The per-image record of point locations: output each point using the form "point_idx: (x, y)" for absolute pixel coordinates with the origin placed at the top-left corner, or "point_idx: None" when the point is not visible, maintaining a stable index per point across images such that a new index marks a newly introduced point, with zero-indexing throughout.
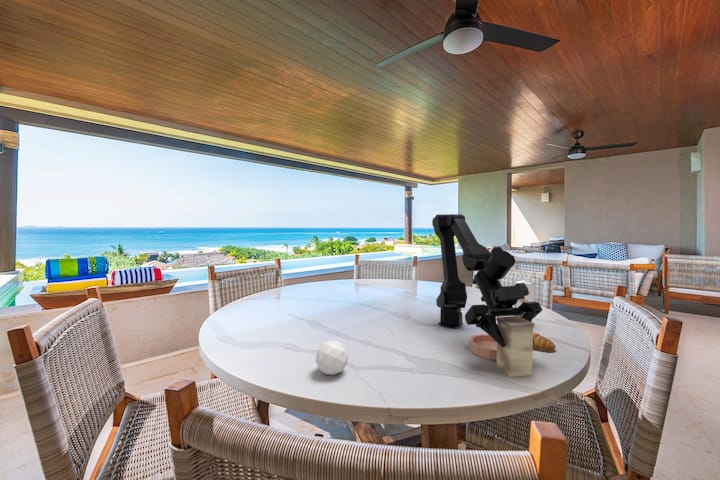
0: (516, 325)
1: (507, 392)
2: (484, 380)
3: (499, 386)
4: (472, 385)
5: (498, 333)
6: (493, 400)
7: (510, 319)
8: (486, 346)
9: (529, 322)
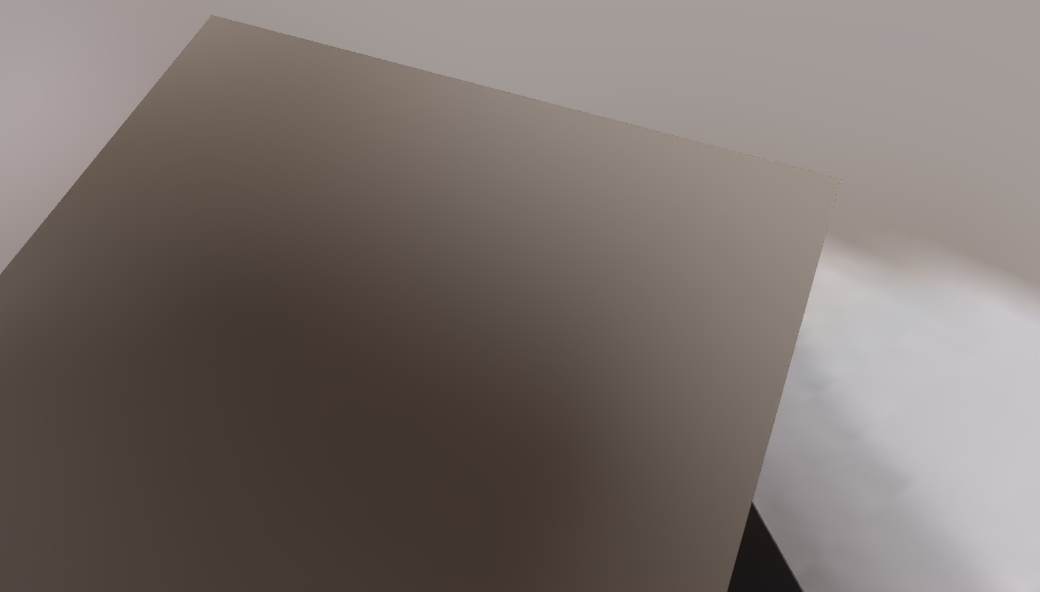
0: (663, 150)
1: (821, 298)
2: (850, 479)
3: (810, 366)
4: (1007, 490)
5: (780, 588)
6: (989, 292)
7: (276, 575)
8: None
9: (204, 94)
